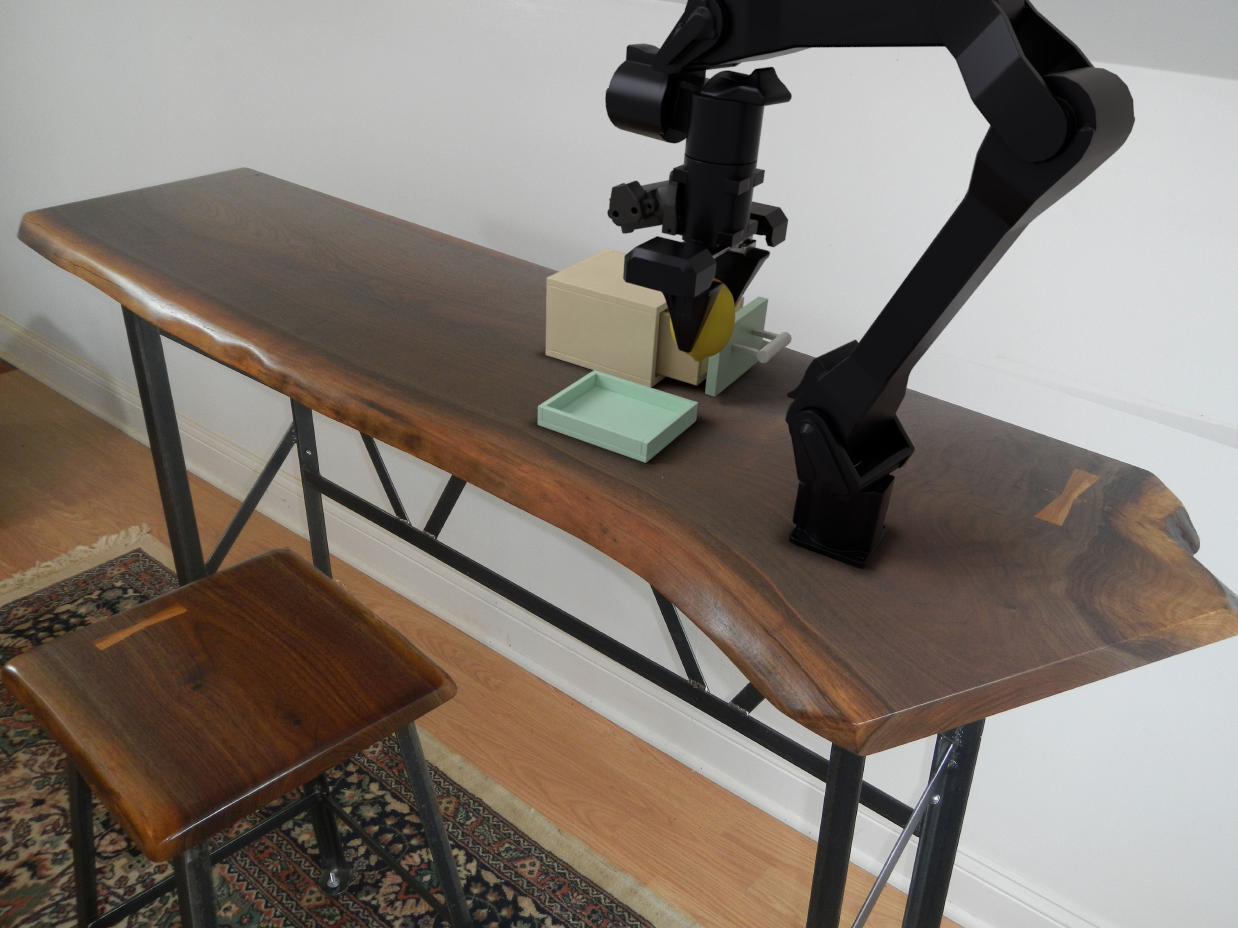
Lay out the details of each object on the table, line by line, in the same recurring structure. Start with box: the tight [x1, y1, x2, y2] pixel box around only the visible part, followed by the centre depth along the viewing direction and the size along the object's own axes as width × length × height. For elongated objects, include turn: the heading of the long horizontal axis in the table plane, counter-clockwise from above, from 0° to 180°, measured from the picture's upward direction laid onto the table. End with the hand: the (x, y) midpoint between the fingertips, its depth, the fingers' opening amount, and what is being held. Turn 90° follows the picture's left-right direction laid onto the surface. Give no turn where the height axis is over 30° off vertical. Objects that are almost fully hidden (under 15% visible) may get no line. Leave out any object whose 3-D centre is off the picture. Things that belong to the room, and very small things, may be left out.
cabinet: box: [545, 248, 668, 388], centre depth 106 cm, size 14×13×9 cm
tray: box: [537, 370, 699, 464], centre depth 94 cm, size 12×10×2 cm
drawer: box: [655, 296, 793, 398], centre depth 102 cm, size 17×11×7 cm
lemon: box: [670, 278, 735, 362], centre depth 82 cm, size 6×6×8 cm
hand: (700, 340), depth 83 cm, fingers closed on lemon, 5 cm apart
